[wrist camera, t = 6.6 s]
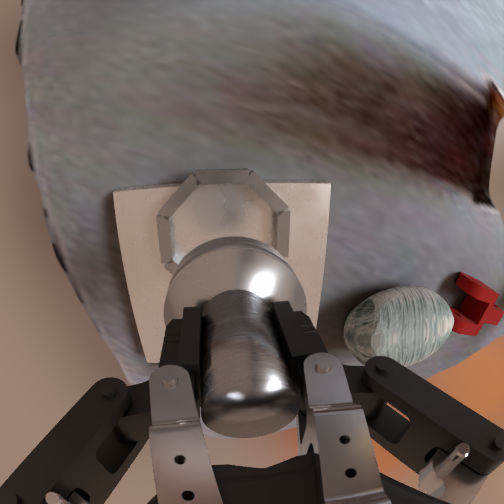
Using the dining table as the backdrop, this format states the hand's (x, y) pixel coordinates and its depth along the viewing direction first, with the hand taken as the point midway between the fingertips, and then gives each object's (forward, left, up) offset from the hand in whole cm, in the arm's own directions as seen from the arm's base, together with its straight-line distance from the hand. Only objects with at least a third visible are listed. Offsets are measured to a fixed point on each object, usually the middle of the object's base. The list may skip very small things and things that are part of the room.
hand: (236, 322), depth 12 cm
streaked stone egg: (+11, +19, -15) cm, 26 cm away
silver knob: (0, 0, -2) cm, 2 cm away
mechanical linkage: (+13, +37, -15) cm, 42 cm away
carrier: (+5, 0, -14) cm, 15 cm away
